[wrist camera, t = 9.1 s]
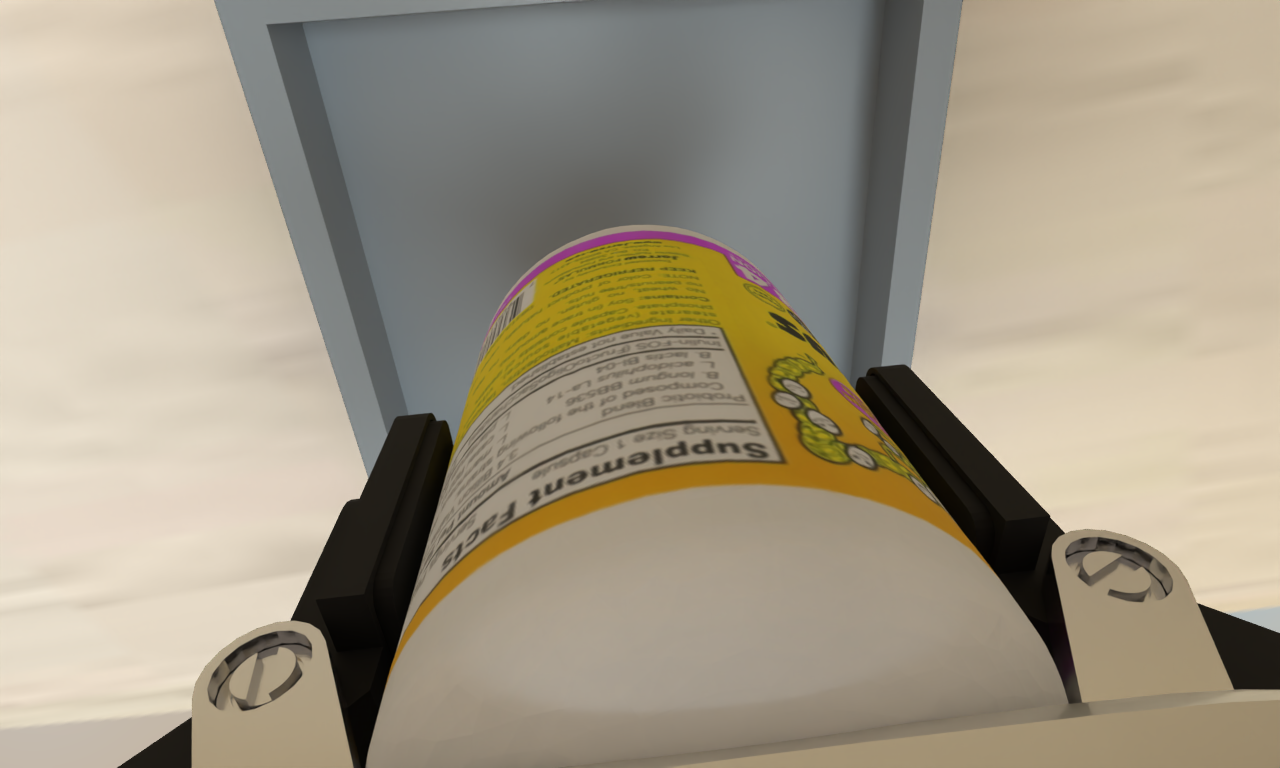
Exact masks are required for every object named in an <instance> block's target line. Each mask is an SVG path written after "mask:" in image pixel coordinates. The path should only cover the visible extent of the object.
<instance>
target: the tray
mask: <svg viewBox="0 0 1280 768" xmlns="http://www.w3.org/2000/svg"><path fill="white" fill-rule="evenodd" d="M214 1H215V5H216V8H217V11H218V14H219V17H220V20H221V23H222V26H223V29H224V32H225V35H226V39H227V42H228V45H229V48H230V51H231V54H232V57H233V60H234V63H235V66H236V70H237V73H238V76H239V79H240V82H241V85H242V88H243V91H244V94H245V97H246V100H247V104H248V107H249V110H250V113H251V116H252V119H253V122H254V125H255V128H256V131H257V134H258V138H259V141H260V144H261V147H262V150H263V153H264V156H265V159H266V162H267V165H268V169H269V172H270V175H271V178H272V181H273V184H274V187H275V190H276V193H277V196H278V199H279V203H280V206H281V209H282V212H283V215H284V218H285V221H286V224H287V227H288V230H289V233H290V237H291V240H292V243H293V246H294V249H295V252H296V255H297V258H298V261H299V264H300V268H301V271H302V274H303V277H304V280H305V283H306V286H307V289H308V292H309V295H310V298H311V302H312V305H313V308H314V311H315V314H316V317H317V320H318V323H319V326H320V329H321V332H322V336H323V339H324V342H325V345H326V348H327V351H328V354H329V357H330V360H331V363H332V367H333V370H334V373H335V376H336V379H337V382H338V385H339V388H340V391H341V394H342V397H343V401H344V404H345V407H346V410H347V413H348V416H349V419H350V422H351V425H352V428H353V431H354V435H355V438H356V441H357V444H358V447H359V450H360V453H361V456H362V459H363V462H364V466H365V469H366V472H367V475H368V478H369V476H370V474H371V472H372V469H373V467H374V465H375V463H376V460H377V458H378V456H379V453H380V451H381V449H382V447H383V444H384V442H385V440H386V437H387V435H388V433H389V431H390V428H391V426H392V424H393V422H394V419H395V418H396V417H397V416H404V415H414V414H424V413H433V414H434V416H435V418H436V420H437V421H440V420H446V421H447V423H448V425H449V429H450V433H451V437H452V441H453V445H454V443H455V440H456V437H457V433H458V430H459V426H460V422H461V418H462V415H463V411H464V408H465V404H466V400H467V397H468V393H469V389H470V387H471V383H472V380H473V376H474V372H475V368H476V365H477V361H478V357H479V354H480V351H481V348H482V345H483V342H484V339H485V337H486V334H487V332H488V329H489V326H490V324H491V321H492V319H493V317H494V315H495V313H496V312H497V310H498V308H499V306H500V304H501V303H502V301H503V300H504V298H505V296H506V295H507V294H508V292H509V291H510V290H511V288H512V287H513V286H514V285H515V284H516V283H517V281H518V280H519V279H520V278H521V277H522V276H523V275H524V274H525V273H526V272H527V271H528V270H529V269H530V268H532V267H533V266H534V265H535V264H536V263H537V262H539V261H540V260H541V259H543V258H544V257H545V256H547V255H548V254H550V253H551V252H553V251H555V250H557V249H558V248H560V247H562V246H564V245H566V244H567V243H570V242H572V241H574V240H577V239H579V238H581V237H584V236H586V235H589V234H591V233H595V232H598V231H601V230H604V229H609V228H614V227H619V226H629V225H660V226H669V227H677V228H682V229H686V230H689V231H693V232H697V233H700V234H702V235H705V236H707V237H710V238H712V239H715V240H717V241H719V242H721V243H723V244H725V245H726V246H728V247H730V248H732V249H733V250H735V251H737V252H738V253H740V254H741V255H743V256H744V257H745V258H747V259H748V260H749V261H750V262H751V263H753V264H754V265H755V266H756V267H757V268H758V269H759V270H760V271H761V272H762V273H763V274H764V275H765V276H766V277H767V278H768V279H769V281H770V282H771V283H772V284H773V285H774V286H775V287H776V288H777V289H778V291H779V292H780V293H781V294H782V296H783V297H784V298H785V299H786V300H787V302H788V303H789V304H790V306H791V307H792V308H793V309H794V311H795V312H796V313H797V315H798V316H799V317H800V319H801V320H802V321H803V322H804V324H805V325H806V326H807V328H808V329H809V330H810V332H811V333H812V334H813V336H814V337H815V338H816V339H817V341H818V342H819V343H820V344H821V346H822V347H823V348H824V349H825V351H826V352H827V354H828V355H829V356H830V358H831V359H832V360H833V362H834V363H835V365H836V366H837V367H838V369H839V370H840V372H841V373H842V374H843V375H844V376H845V378H846V379H847V381H848V382H849V383H850V385H851V386H852V387H853V389H854V390H855V387H856V382H857V380H858V378H859V377H866V373H867V371H868V369H870V368H871V367H881V366H891V365H900V364H905V365H906V366H908V367H909V368H910V369H911V364H912V357H913V350H914V342H915V335H916V328H917V321H918V314H919V307H920V300H921V293H922V286H923V279H924V271H925V264H926V257H927V250H928V243H929V236H930V229H931V222H932V215H933V208H934V200H935V193H936V186H937V179H938V172H939V165H940V158H941V151H942V144H943V136H944V129H945V122H946V115H947V108H948V101H949V94H950V87H951V80H952V73H953V65H954V58H955V51H956V44H957V37H958V30H959V23H960V16H961V9H962V2H963V0H214Z"/></svg>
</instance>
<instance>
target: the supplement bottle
mask: <svg viewBox="0 0 1280 768" xmlns="http://www.w3.org/2000/svg"><path fill="white" fill-rule="evenodd" d="M1064 704H1069V703H1068V699H1067V696H1066V693H1065V689H1064V686H1063V683H1062V680H1061V677H1060V675H1059V672H1058V670H1057V668H1056V665H1055V663H1054V661H1053V659H1052V657H1051V655H1050V653H1049V651H1048V649H1047V647H1046V645H1045V643H1044V642H1043V640H1042V638H1041V637H1040V635H1039V633H1038V632H1037V631H1036V629H1035V628H1034V626H1033V625H1032V623H1031V622H1030V621H1029V619H1028V618H1027V616H1026V615H1025V614H1024V612H1023V611H1022V609H1021V608H1020V607H1019V605H1018V604H1017V602H1016V601H1015V600H1014V598H1013V597H1012V595H1011V594H1010V593H1009V591H1008V590H1007V588H1006V587H1005V586H1004V584H1003V583H1002V582H1001V580H1000V579H999V577H998V576H997V575H996V573H995V572H994V571H993V570H992V568H991V567H990V566H989V564H988V563H987V562H986V561H985V559H984V558H983V557H982V555H981V554H980V553H979V551H978V550H977V549H976V548H975V546H974V545H973V544H972V543H971V541H970V540H969V539H968V538H967V536H966V535H965V534H964V533H963V532H962V530H961V529H960V528H959V526H958V525H957V523H956V522H955V521H954V519H953V518H952V517H951V515H950V514H949V513H948V511H947V510H946V509H945V508H944V506H943V505H942V504H941V502H940V501H939V500H938V499H937V497H936V496H935V495H934V493H933V492H932V491H931V490H930V488H929V487H928V486H927V484H926V483H925V482H924V481H923V479H922V478H921V477H920V475H919V474H918V472H917V471H916V470H915V468H914V467H913V466H912V464H911V463H910V462H909V460H908V459H907V458H906V456H905V455H904V454H903V452H902V451H901V450H900V449H899V448H898V446H897V445H896V444H895V443H894V442H893V440H892V439H891V438H890V437H889V435H888V434H887V433H886V431H885V430H884V429H883V427H882V426H881V425H880V423H879V422H878V421H877V419H876V417H875V416H874V414H873V413H872V411H871V410H870V409H869V408H868V406H867V405H866V404H865V403H864V401H863V400H862V399H861V398H860V396H859V395H858V394H857V392H856V391H855V390H854V389H853V387H852V386H851V385H850V383H849V382H848V381H847V379H846V378H845V376H844V375H843V374H842V373H841V372H840V370H839V369H838V367H837V366H836V365H835V363H834V362H833V360H832V359H831V358H830V356H829V355H828V354H827V352H826V351H825V349H824V348H823V347H822V346H821V344H820V343H819V342H818V341H817V339H816V338H815V337H814V336H813V334H812V333H811V332H810V330H809V329H808V328H807V326H806V325H805V324H804V322H803V321H802V320H801V319H800V317H799V316H798V315H797V313H796V312H795V311H794V309H793V308H792V307H791V306H790V304H789V303H788V302H787V300H786V299H785V298H784V297H783V296H782V294H781V293H780V292H779V291H778V289H777V288H776V287H775V286H774V285H773V284H772V283H771V282H770V281H769V279H768V278H767V277H766V276H765V275H764V274H763V273H762V272H761V271H760V270H759V269H758V268H757V267H756V266H755V265H754V264H753V263H751V262H750V261H749V260H748V259H747V258H745V257H744V256H743V255H741V254H740V253H738V252H737V251H735V250H733V249H732V248H730V247H728V246H726V245H725V244H723V243H721V242H719V241H717V240H715V239H712V238H710V237H707V236H705V235H702V234H700V233H697V232H693V231H689V230H686V229H682V228H677V227H669V226H660V225H629V226H619V227H614V228H609V229H604V230H601V231H598V232H595V233H591V234H589V235H586V236H584V237H581V238H579V239H577V240H574V241H572V242H570V243H567V244H566V245H564V246H562V247H560V248H558V249H557V250H555V251H553V252H551V253H550V254H548V255H547V256H545V257H544V258H543V259H541V260H540V261H539V262H537V263H536V264H535V265H534V266H533V267H532V268H530V269H529V270H528V271H527V272H526V273H525V274H524V275H523V276H522V277H521V278H520V279H519V280H518V281H517V283H516V284H515V285H514V286H513V287H512V288H511V290H510V291H509V292H508V294H507V295H506V296H505V298H504V300H503V301H502V303H501V304H500V306H499V308H498V310H497V312H496V313H495V315H494V317H493V319H492V321H491V324H490V326H489V329H488V332H487V334H486V337H485V339H484V342H483V345H482V348H481V351H480V354H479V357H478V361H477V365H476V368H475V372H474V376H473V380H472V383H471V387H470V389H469V393H468V397H467V400H466V404H465V408H464V411H463V415H462V418H461V422H460V426H459V430H458V433H457V437H456V440H455V443H454V447H453V451H452V455H451V458H450V462H449V466H448V470H447V473H446V477H445V481H444V484H443V488H442V492H441V494H440V498H439V502H438V506H437V510H436V513H435V516H434V520H433V524H432V527H431V531H430V534H429V538H428V542H427V545H426V549H425V553H424V556H423V560H422V563H421V567H420V570H419V574H418V577H417V581H416V584H415V587H414V591H413V594H412V598H411V601H410V605H409V608H408V612H407V615H406V619H405V622H404V626H403V629H402V633H401V636H400V640H399V643H398V647H397V650H396V653H395V656H394V659H393V662H392V665H391V668H390V672H389V675H388V679H387V683H386V686H385V690H384V694H383V698H382V701H381V705H380V709H379V713H378V716H377V720H376V724H375V728H374V731H373V735H372V739H371V742H370V746H369V750H368V755H367V761H366V767H365V768H559V767H567V766H575V765H585V764H595V763H604V762H613V761H623V760H633V759H643V758H652V757H661V756H669V755H677V754H686V753H694V752H703V751H711V750H720V749H728V748H736V747H744V746H752V745H760V744H768V743H775V742H782V741H790V740H797V739H805V738H812V737H819V736H826V735H832V734H839V733H846V732H853V731H860V730H866V729H872V728H879V727H885V726H892V725H899V724H905V723H914V722H922V721H930V720H938V719H947V718H955V717H963V716H971V715H980V714H988V713H996V712H1005V711H1013V710H1021V709H1029V708H1038V707H1046V706H1054V705H1064Z"/></svg>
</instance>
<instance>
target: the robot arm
mask: <svg viewBox="0 0 1280 768" xmlns="http://www.w3.org/2000/svg"><path fill="white" fill-rule="evenodd" d="M855 391H856V392H857V394H858V395H859V396H860V398H861V399H862V400H863V401H864V403H865V404H866V405H867V406H868V408H869V409H870V410H871V411H872V413H873V414H874V416H875V417H876V419H877V421H878V422H879V423H880V425H881V426H882V427H883V429H884V430H885V431H886V433H887V434H888V435H889V437H890V438H891V439H892V440H893V442H894V443H895V444H896V445H897V446H898V448H899V449H900V450H901V451H902V452H903V454H904V455H905V456H906V458H907V459H908V460H909V462H910V463H911V464H912V466H913V467H914V468H915V470H916V471H917V472H918V474H919V475H920V477H921V478H922V479H923V481H924V482H925V483H926V484H927V486H928V487H929V488H930V490H931V491H932V492H933V493H934V495H935V496H936V497H937V499H938V500H939V501H940V502H941V504H942V505H943V506H944V508H945V509H946V510H947V511H948V513H949V514H950V515H951V517H952V518H953V519H954V521H955V522H956V523H957V525H958V526H959V528H960V529H961V530H962V532H963V533H964V534H965V535H966V536H967V538H968V539H969V540H970V541H971V543H972V544H973V545H974V546H975V548H976V549H977V550H978V551H979V553H980V554H981V555H982V557H983V558H984V559H985V561H986V562H987V563H988V564H989V566H990V567H991V568H992V570H993V571H994V572H995V573H996V575H997V576H998V577H999V579H1000V580H1001V582H1002V583H1003V584H1004V586H1005V587H1006V588H1007V590H1008V591H1009V593H1010V594H1011V595H1012V597H1013V598H1014V600H1015V601H1016V602H1017V604H1018V605H1019V607H1020V608H1021V609H1022V611H1023V612H1024V614H1025V615H1026V616H1027V618H1028V619H1029V621H1030V622H1031V623H1032V625H1033V626H1034V628H1035V629H1036V631H1037V632H1038V633H1039V635H1040V637H1041V638H1042V640H1043V642H1044V643H1045V645H1046V647H1047V649H1048V651H1049V653H1050V655H1051V657H1052V659H1053V661H1054V663H1055V665H1056V668H1057V670H1058V672H1059V675H1060V677H1061V680H1062V683H1063V686H1064V689H1065V693H1066V696H1067V699H1068V703H1069V704H1064V705H1054V706H1046V707H1038V708H1029V709H1021V710H1013V711H1005V712H996V713H988V714H980V715H971V716H963V717H955V718H947V719H938V720H930V721H922V722H914V723H905V724H899V725H892V726H885V727H879V728H872V729H866V730H860V731H853V732H846V733H839V734H832V735H826V736H819V737H812V738H805V739H797V740H790V741H782V742H775V743H768V744H760V745H752V746H744V747H736V748H728V749H720V750H711V751H703V752H694V753H686V754H677V755H669V756H661V757H652V758H643V759H633V760H623V761H613V762H604V763H595V764H585V765H575V766H567V767H559V768H1280V633H1278V632H1275V631H1272V630H1269V629H1267V628H1264V627H1261V626H1258V625H1256V624H1253V623H1250V622H1247V621H1245V620H1242V619H1239V618H1236V617H1234V616H1231V615H1228V614H1226V613H1223V612H1220V611H1217V610H1215V609H1212V608H1209V607H1206V606H1204V605H1201V604H1198V603H1197V602H1196V600H1195V597H1194V595H1193V593H1192V590H1191V588H1190V586H1189V583H1188V581H1187V579H1186V578H1185V576H1184V575H1183V573H1182V572H1181V570H1180V569H1179V567H1178V566H1177V565H1176V564H1175V563H1173V562H1172V561H1171V560H1170V559H1169V558H1168V557H1167V556H1165V555H1164V554H1163V553H1161V552H1159V551H1158V550H1156V549H1154V548H1153V547H1151V546H1149V545H1148V544H1146V543H1144V542H1141V541H1139V540H1136V539H1134V538H1131V537H1129V536H1126V535H1122V534H1118V533H1114V532H1110V531H1106V530H1093V529H1083V530H1076V531H1070V532H1068V533H1066V534H1065V533H1064V532H1063V531H1062V530H1061V528H1060V527H1059V526H1058V525H1057V524H1056V523H1055V522H1054V521H1053V520H1052V519H1051V518H1050V515H1049V514H1048V513H1047V512H1046V511H1045V510H1044V509H1043V508H1042V507H1041V506H1040V505H1039V503H1038V502H1037V501H1036V500H1035V499H1034V498H1033V497H1032V496H1031V495H1030V494H1029V493H1028V492H1027V491H1026V490H1025V489H1024V488H1023V487H1022V486H1021V485H1020V484H1019V482H1018V481H1017V480H1016V479H1015V478H1014V477H1013V476H1012V475H1011V474H1010V473H1009V472H1008V471H1007V470H1006V469H1005V468H1004V467H1003V466H1002V465H1001V464H1000V463H999V461H998V460H997V459H996V458H995V457H994V456H993V455H992V454H991V453H990V452H989V451H988V450H987V449H986V448H985V447H984V446H983V445H982V444H981V443H980V442H979V441H978V439H977V438H976V437H975V436H974V435H973V434H972V433H971V432H970V431H969V430H968V429H967V428H966V427H965V426H964V425H963V424H962V423H961V422H960V421H959V420H958V418H957V417H956V416H955V415H954V414H953V413H952V412H951V411H950V410H949V409H948V408H947V407H946V406H945V405H944V404H943V403H942V402H941V401H940V400H939V399H938V397H937V396H936V395H935V394H934V393H933V392H932V391H931V390H930V389H929V388H928V387H927V386H926V385H925V384H924V383H923V382H922V381H921V380H920V379H919V378H918V376H917V375H916V374H915V373H914V372H913V371H912V370H911V369H910V368H909V367H908V366H906V365H905V364H900V365H891V366H881V367H871V368H870V369H868V371H867V373H866V377H859V378H858V380H857V382H856V387H855ZM453 447H454V445H453V441H452V437H451V433H450V429H449V425H448V423H447V421H446V420H440V421H437V420H436V418H435V416H434V414H433V413H424V414H414V415H404V416H397V417H396V418H395V419H394V422H393V424H392V426H391V428H390V431H389V433H388V435H387V437H386V440H385V442H384V444H383V447H382V449H381V451H380V453H379V456H378V458H377V460H376V463H375V465H374V467H373V469H372V472H371V474H370V476H369V479H368V481H367V483H366V485H365V488H364V490H363V492H362V494H361V497H360V499H354V500H350V501H348V502H347V503H346V504H345V506H344V507H343V509H342V511H341V513H340V515H339V517H338V519H337V521H336V524H335V526H334V528H333V530H332V532H331V534H330V537H329V539H328V541H327V543H326V545H325V547H324V549H323V552H322V554H321V556H320V558H319V560H318V562H317V565H316V567H315V569H314V571H313V573H312V575H311V577H310V580H309V582H308V584H307V586H306V588H305V590H304V592H303V595H302V597H301V599H300V601H299V603H298V605H297V608H296V610H295V612H294V614H293V616H292V618H291V620H290V621H285V622H276V623H273V624H269V625H266V626H263V627H260V628H257V629H255V630H253V631H251V632H249V633H247V634H245V635H243V636H241V637H239V638H237V639H236V640H234V641H233V642H232V643H230V644H229V645H228V646H226V647H225V648H224V649H222V650H221V651H220V652H219V653H218V654H217V655H216V656H215V657H214V658H213V659H212V660H211V661H210V662H209V663H208V664H207V665H206V666H205V668H204V670H203V671H202V673H201V675H200V676H199V678H198V680H197V681H196V683H195V687H194V692H193V696H192V717H191V718H190V719H188V720H187V721H185V722H184V723H182V724H181V725H180V726H178V727H176V728H175V729H174V730H172V731H171V732H169V733H168V734H166V735H165V736H163V737H162V738H160V739H159V740H157V741H156V742H154V743H153V744H151V745H150V746H149V747H147V748H146V749H144V750H143V751H141V752H140V753H138V754H137V755H135V756H134V757H132V758H131V759H129V760H128V761H126V762H125V763H123V764H122V765H121V766H119V767H118V768H365V767H366V761H367V755H368V750H369V746H370V742H371V739H372V735H373V731H374V728H375V724H376V720H377V716H378V713H379V709H380V705H381V701H382V698H383V694H384V690H385V686H386V683H387V679H388V675H389V672H390V668H391V665H392V662H393V659H394V656H395V653H396V650H397V647H398V643H399V640H400V636H401V633H402V629H403V626H404V622H405V619H406V615H407V612H408V608H409V605H410V601H411V598H412V594H413V591H414V587H415V584H416V581H417V577H418V574H419V570H420V567H421V563H422V560H423V556H424V553H425V549H426V545H427V542H428V538H429V534H430V531H431V527H432V524H433V520H434V516H435V513H436V510H437V506H438V502H439V498H440V494H441V492H442V488H443V484H444V481H445V477H446V473H447V470H448V466H449V462H450V458H451V455H452V451H453Z"/></svg>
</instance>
